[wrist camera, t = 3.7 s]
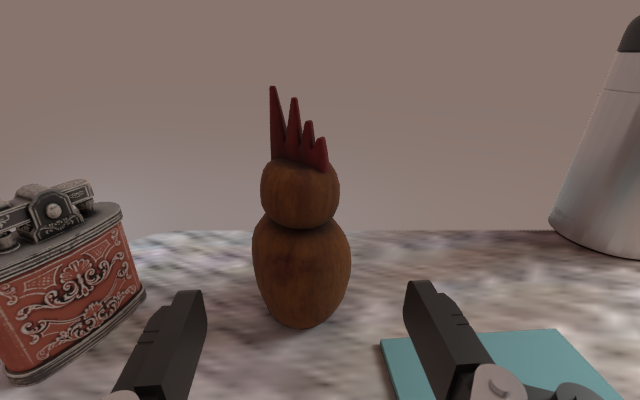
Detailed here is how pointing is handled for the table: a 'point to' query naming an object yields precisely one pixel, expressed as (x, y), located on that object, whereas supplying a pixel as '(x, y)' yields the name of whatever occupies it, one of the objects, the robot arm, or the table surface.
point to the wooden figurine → (299, 225)
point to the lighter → (61, 278)
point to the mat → (503, 363)
